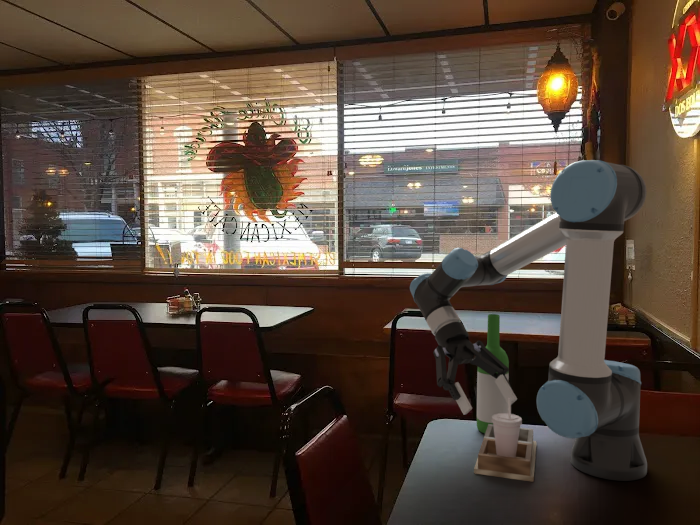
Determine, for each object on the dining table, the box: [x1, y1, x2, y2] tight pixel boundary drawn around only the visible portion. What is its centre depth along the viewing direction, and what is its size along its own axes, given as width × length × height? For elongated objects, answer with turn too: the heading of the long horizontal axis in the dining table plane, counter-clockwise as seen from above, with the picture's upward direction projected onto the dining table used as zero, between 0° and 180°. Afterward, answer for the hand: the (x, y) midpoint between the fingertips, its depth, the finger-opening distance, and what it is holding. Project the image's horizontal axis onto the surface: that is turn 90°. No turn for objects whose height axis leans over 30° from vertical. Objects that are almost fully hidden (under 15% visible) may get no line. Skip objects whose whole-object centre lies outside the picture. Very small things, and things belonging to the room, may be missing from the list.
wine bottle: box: [476, 313, 510, 435], centre depth 145 cm, size 8×8×30 cm
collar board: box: [473, 424, 537, 483], centre depth 128 cm, size 12×21×4 cm, turn 160°
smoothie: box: [491, 398, 523, 458], centre depth 124 cm, size 6×6×14 cm
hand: (491, 406), depth 127 cm, fingers open, 13 cm apart
